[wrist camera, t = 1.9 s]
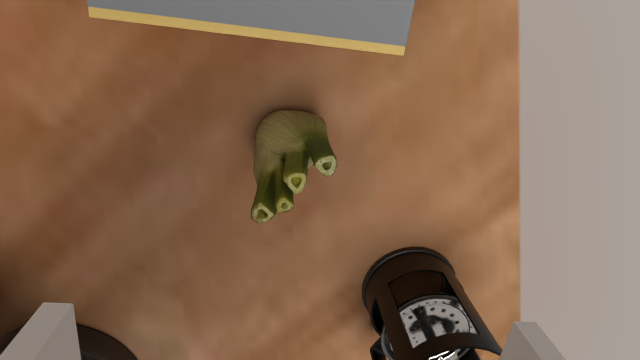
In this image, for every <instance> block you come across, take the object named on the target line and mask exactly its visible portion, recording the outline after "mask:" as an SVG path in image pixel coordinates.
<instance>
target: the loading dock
mask: <svg viewBox="0 0 640 360" xmlns="http://www.w3.org/2000/svg"><path fill="white" fill-rule="evenodd" d="M414 3H415V0H87V6H88V10H89V17H94V18H102V19H110V20H118V21H126V22H134V23H142V24H150V25H159V26H167V27H175V28H183V29H191V30H199V31H207V32H215V33H224V34H232V35H240V36H248V37H256V38H264V39H272V40H280V41H288V42H297V43H305V44H313V45H321V46H329V47H337V48H345V49H353V50H362V51H370V52H378V53H386V54H394V55H402V56H404V51H405V46H406V43H407V38H408V33H409V28H410V23H411V18H412V13H413V8H414Z"/></svg>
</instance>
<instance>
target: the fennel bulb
mask: <svg viewBox="0 0 640 360" xmlns="http://www.w3.org/2000/svg"><path fill="white" fill-rule="evenodd" d="M255 139H256V147H255V154H254V175H255V179H256V182H257V191H256V196H255V199H254V203H253V206H252V209H251V219H253V220H254V221H256V222H257V223H264V222H266V221H268V220H271V219H272V218H273V217H274V216H275V214H276V210H277V212H279V213H284V212H288V211H290V210H292V209H293V208H294V203H293V193H294V194H299V193H300V192H302V191H303V189H304V187H305V183H306V180H307V172H308V168H310V167H311V166H312V165H313V164H314V165H315V167H316V168H317V169H318V170H319V171H320V172H321V173H322V174H323V175H324V176H325V177H327V176H331V175H332V174H333V173H334V172H335V168H336V167H337V159H336V156H335V155H334V153H333V151H332V149H331V146H330V144H329V141H328V136H327V127H326V123H325V121H324V120H323V119H322V117H319V116H317V115H314V114H312V113H307V112H302V111H299V110H298V111H296V110H277V111H274V112H272V113H270V114H268V115H267V116H265V117H264V118H263V119H262V120H261V122H260V123H259V125H258V127H257V129H256V138H255Z"/></svg>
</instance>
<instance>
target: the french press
mask: <svg viewBox="0 0 640 360" xmlns="http://www.w3.org/2000/svg"><path fill="white" fill-rule="evenodd" d="M423 271H428V272H437V273H441V275H442V278H443V289H442V293H427V294H422V295H418V296H415V297H413V298H410V299H408V300H406V301H404V302H403V303H401V304H399V305H398V306H397V304H396V302H395V299H394V296H393V294H392V291H391V289H390V286H389V284H390V283H392V282H393V281H395V280H396V279H398V278H400V277H403V276H405V275H408V274H411V273H415V272H423ZM362 298H363V301H364V304H365V307H366V309H367V310H368V312H369V314H370V318H371V321H372V325H373V327H374V329H375V331H376V332H377V333H378V334H379V335H380V336H381V337H380V338H379V339H378V340H377V341H376V342H375V343H374V344H373V345H372V347H371V348H370V354H371V358H372V360H387V359H386V357H387V358H388V359H389V360H458V359H459V360H480V358H479V356H478V355H477V353H476V351H475V349H482V350H487V351H490V352H493V353H495V354H497V355H499V356H500V355H501V353H502V348H501V347H500V346H499V345H498V344H497V342H496V341H495V339H494V337H493V336H492V334H491V333H490V331H489V330H488V328H487V326H486V325H485V323H484V322H483V320H482V319H481V317H480V315H479V314H478V312H477V311H476V309H475V308H474V306H473V304H472V303H471V301H470V300H469V298H468V297H467V295H466V293H465V292H464V289H463V287H462V285H461V284H460V282H459V281H458V279H457V278H456V276H455V272H454V270H453V267H452V266H451V264H450V263H449V262H448V260H447V259H446V258H445V257H443V256H442V255H441V254H439V253H437V252H435V251H433V250H431V249H426V248H420V247H411V248H403V249H400V250H396V251H394V252H391V253H389V254H387V255H385V256H384V257H383V258H381V259H380V260H378V261H377V262H376V263H375V264H374V265H373V266H372V267H371V269H370V270H369V272H368V273H367V275H366V277H365V279H364V282H363V287H362Z"/></svg>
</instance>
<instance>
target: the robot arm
mask: <svg viewBox="0 0 640 360" xmlns="http://www.w3.org/2000/svg"><path fill="white" fill-rule="evenodd" d="M0 360H136V359H135V358H134V357H133V355H132V354H131V353H130V352H129V351H128V350H127V349H126V348H125V347H123V346H122V345H121V344H120V343H118V342H117V341H115V340H113V339H112V338H110V337H108V336H106V335H104V334H102V333H100V332H97V331H95V330H92V329H89V328H85V327H82V326H77V325H76V320H75V313H74V306H73V303H49V302H43V303H42V305H41V306H40V307H39V308H38V309H37V311H36V312H35V313H34V314H33V316H32V317H31V318H30V319H29V321H28V322H27V323H26V324H25V325H24V327H23V328H20V329H17V330H14V331H12V332H10V333H8V334H7V335H5V336H4V337H2V338H1V339H0ZM499 360H566V359H565V358H564V357H563V356H562V355H561V353H560V352H559V351H558V349H557V348H556V347H555V346H554V344H553V343H552V342H551V341H550V339H549V338H548V337H547V336H546V334H545V333H544V332H543V330H542V329H541V328H540V327H539V325H538V324H537V323H536V322H535V323H534V322H514V323H513V325H512V328H511V330H510V333H509V335H508V338H507V340H506V343H505V345H504V348H503V350H502V353H501V355H500V358H499Z"/></svg>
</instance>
